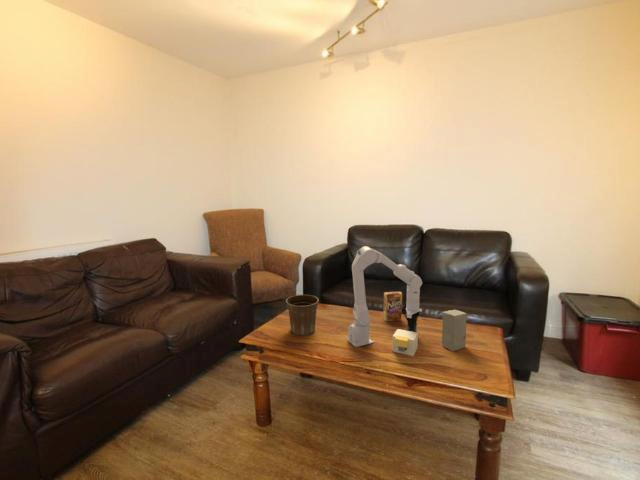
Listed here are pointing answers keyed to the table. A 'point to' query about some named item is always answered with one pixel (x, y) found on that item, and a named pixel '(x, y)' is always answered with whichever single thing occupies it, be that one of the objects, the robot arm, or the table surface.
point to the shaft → (411, 331)
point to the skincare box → (454, 329)
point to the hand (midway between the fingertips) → (412, 327)
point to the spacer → (401, 341)
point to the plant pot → (302, 313)
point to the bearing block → (412, 341)
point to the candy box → (392, 306)
